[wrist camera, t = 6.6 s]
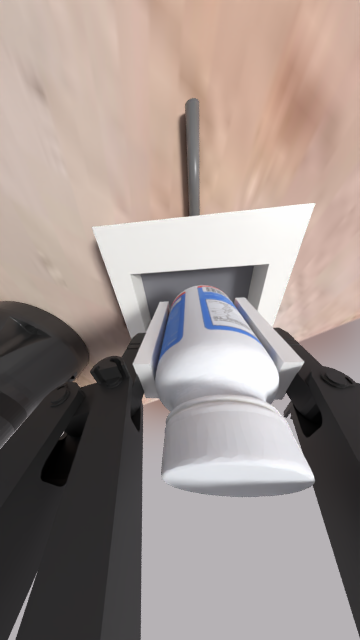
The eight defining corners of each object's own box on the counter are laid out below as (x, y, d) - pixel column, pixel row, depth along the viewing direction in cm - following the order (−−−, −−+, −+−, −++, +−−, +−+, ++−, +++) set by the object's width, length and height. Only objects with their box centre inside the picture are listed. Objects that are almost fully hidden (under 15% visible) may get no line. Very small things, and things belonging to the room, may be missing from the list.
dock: (143, 340, 20) (137, 355, 18) (81, 129, 10) (43, 91, 7) (253, 336, 19) (263, 352, 16) (319, 87, 8) (377, 24, 6)
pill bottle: (184, 342, 14) (177, 498, 6) (160, 297, 11) (82, 460, 3) (238, 327, 12) (334, 504, 4) (224, 272, 10) (394, 444, 2)
